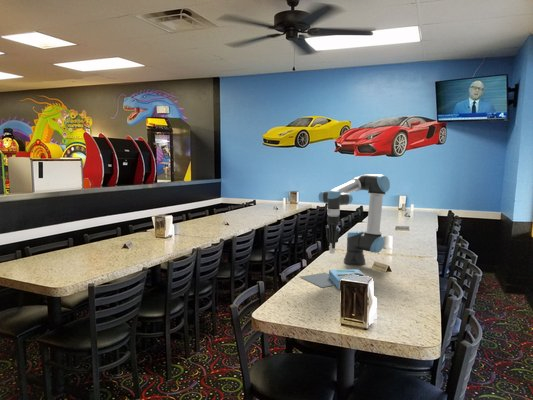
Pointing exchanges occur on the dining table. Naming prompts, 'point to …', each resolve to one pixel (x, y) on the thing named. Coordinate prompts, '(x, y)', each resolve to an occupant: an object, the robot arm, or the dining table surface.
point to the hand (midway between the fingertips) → (332, 253)
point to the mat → (319, 279)
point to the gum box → (342, 275)
